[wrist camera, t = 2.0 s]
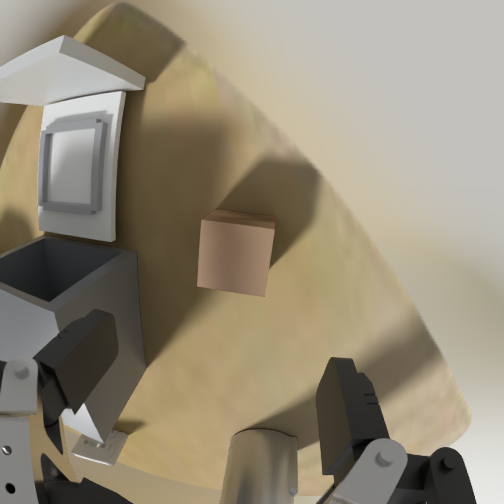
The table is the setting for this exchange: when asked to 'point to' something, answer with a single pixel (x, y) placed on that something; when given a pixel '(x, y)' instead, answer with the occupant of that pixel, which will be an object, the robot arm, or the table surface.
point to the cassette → (101, 448)
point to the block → (235, 251)
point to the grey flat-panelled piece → (74, 131)
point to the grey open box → (74, 314)
